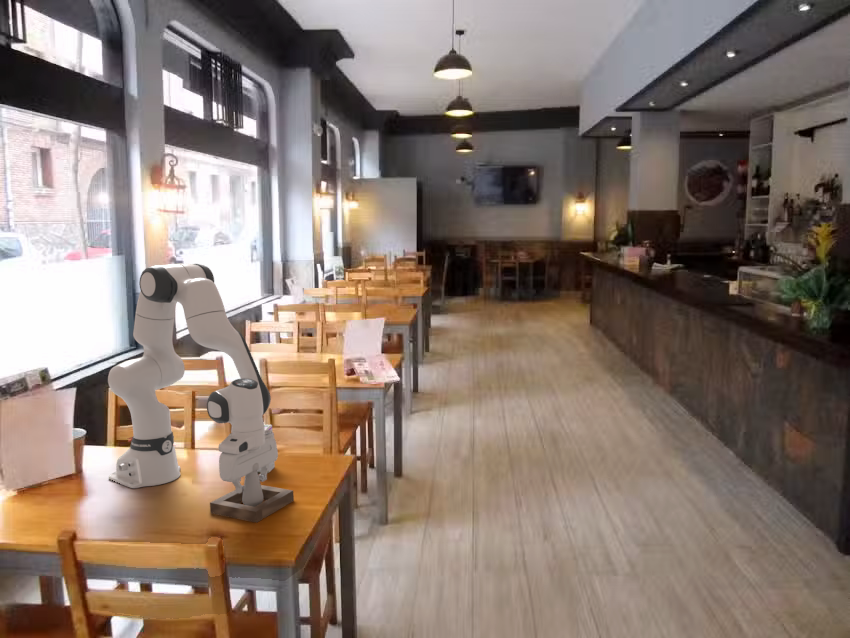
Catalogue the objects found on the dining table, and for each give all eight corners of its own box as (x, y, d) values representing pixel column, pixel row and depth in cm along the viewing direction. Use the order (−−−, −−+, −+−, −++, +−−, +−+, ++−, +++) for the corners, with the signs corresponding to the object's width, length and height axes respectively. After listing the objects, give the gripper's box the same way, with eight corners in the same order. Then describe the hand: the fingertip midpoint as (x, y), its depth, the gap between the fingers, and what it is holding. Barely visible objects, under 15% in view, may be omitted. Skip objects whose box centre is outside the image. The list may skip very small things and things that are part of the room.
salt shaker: (258, 511, 187) (255, 465, 186) (239, 510, 189) (236, 465, 187) (267, 503, 193) (264, 458, 191) (248, 502, 194) (245, 458, 193)
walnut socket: (210, 513, 187) (209, 502, 187) (249, 492, 202) (249, 482, 201) (256, 522, 180) (255, 511, 180) (293, 500, 194) (293, 490, 194)
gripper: (264, 426, 199) (267, 472, 201) (213, 447, 181) (217, 497, 183) (281, 429, 196) (284, 475, 198) (232, 450, 178) (235, 501, 180)
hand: (251, 486), depth 190 cm, fingers open, 8 cm apart
